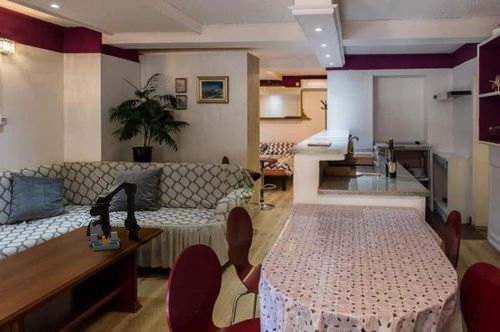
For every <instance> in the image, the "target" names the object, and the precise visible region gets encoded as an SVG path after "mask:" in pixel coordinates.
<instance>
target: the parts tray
mask: <svg viewBox="0 0 500 332" xmlns="http://www.w3.org/2000/svg"><path fill="white" fill-rule="evenodd" d="M120 245H121V244H119V243H118V241H111V242H109V245H106V246H103V243H102V242H101V243H93V246H92V251H93V252H96V251H105V250H108V251H109V250H116V249H120Z"/></svg>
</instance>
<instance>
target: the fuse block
mask: <svg viewBox="0 0 500 332" xmlns="http://www.w3.org/2000/svg"><path fill="white" fill-rule="evenodd" d="M111 241H112V240H111V238H109V242H111ZM114 241H118V243H119V245H121V239H120V238H119V237H118V240H114ZM101 242H102V239H98V242H94V243H101ZM87 243H88V246H89V247H90V248H91V247H93V243H91V240H89V241H88V242H87Z"/></svg>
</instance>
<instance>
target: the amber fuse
mask: <svg viewBox="0 0 500 332" xmlns="http://www.w3.org/2000/svg"><path fill="white" fill-rule="evenodd" d="M109 239H110V235H109V236H108V239H105V236H104V235H102V236H101V240H102V243H103V246H106V245H109Z"/></svg>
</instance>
